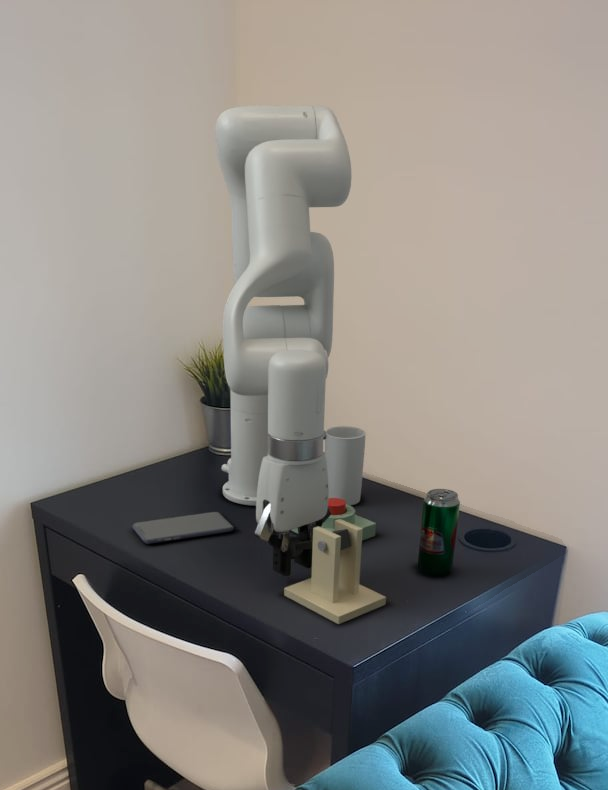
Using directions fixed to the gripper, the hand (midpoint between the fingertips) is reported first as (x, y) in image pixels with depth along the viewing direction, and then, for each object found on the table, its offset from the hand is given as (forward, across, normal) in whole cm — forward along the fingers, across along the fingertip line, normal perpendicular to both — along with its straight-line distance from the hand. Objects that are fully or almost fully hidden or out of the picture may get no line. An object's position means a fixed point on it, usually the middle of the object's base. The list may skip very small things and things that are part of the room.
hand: (292, 567), depth 140 cm
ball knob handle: (-4, 0, +5) cm, 6 cm away
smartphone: (+2, +2, -24) cm, 24 cm away
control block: (+2, -16, -8) cm, 18 cm away
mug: (+2, -28, -19) cm, 34 cm away
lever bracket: (+2, 0, +9) cm, 9 cm away
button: (-2, -16, -8) cm, 18 cm away
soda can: (+2, -18, +11) cm, 21 cm away
